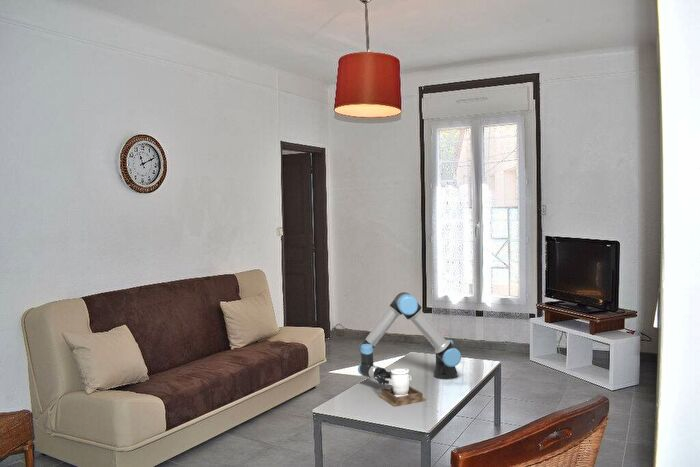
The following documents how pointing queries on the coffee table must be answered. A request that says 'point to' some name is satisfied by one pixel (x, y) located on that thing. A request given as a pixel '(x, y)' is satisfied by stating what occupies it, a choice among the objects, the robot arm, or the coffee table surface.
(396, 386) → the jar
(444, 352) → the robot arm
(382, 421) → the coffee table surface
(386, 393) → the holder
